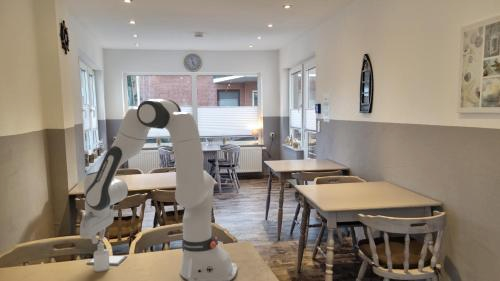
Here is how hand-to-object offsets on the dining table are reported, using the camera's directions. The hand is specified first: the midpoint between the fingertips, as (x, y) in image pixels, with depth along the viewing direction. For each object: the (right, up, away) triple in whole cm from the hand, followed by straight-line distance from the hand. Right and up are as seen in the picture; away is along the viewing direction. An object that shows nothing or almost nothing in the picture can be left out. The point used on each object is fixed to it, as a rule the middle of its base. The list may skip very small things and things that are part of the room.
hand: (98, 241), depth 145 cm
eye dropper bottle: (+5, -10, -7) cm, 13 cm away
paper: (+3, -9, +1) cm, 10 cm away
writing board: (+3, -9, +1) cm, 10 cm away
